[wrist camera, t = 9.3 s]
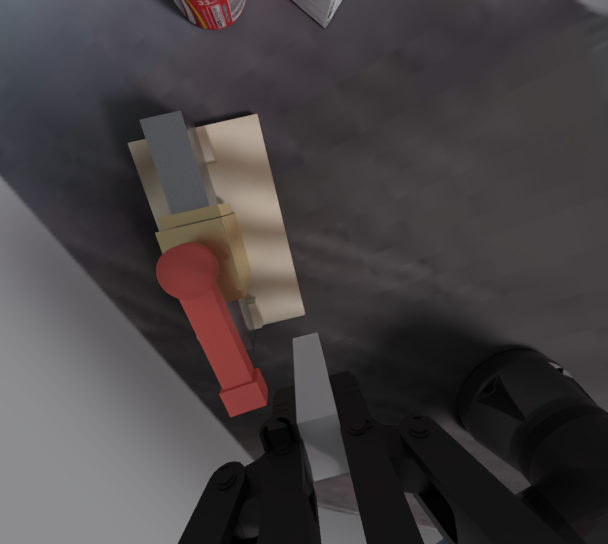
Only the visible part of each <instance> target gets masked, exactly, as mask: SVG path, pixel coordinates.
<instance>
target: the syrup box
mask: <svg viewBox="0 0 608 544" xmlns="http://www.w3.org/2000/svg"><path fill="white" fill-rule="evenodd" d="M292 1H293V2H295V3H296V4H297V5H298V6H299V7H300V8H301V9H303V10H304V11H305V12H306V13H307V14H308V15H310V16H311V17H312V18H313V19H314V20H316V21H317V22H318V23H319V24H320V25H321V26H323V27H324V28H326V26H327V25H328V23H329V22H330V20H331V18H332V17H333V15H334V13H335V12H336V10H337V8H338V7H339V5H340V3H341V1H342V0H292Z"/></svg>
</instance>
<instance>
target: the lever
mask: <svg viewBox="0 0 608 544" xmlns="http://www.w3.org/2000/svg"><path fill="white" fill-rule="evenodd" d="M218 274H219V265H218V261H217V259H216V257H215V255H214V254H213V252H212V251H211V250H210V249H208V248H207V247H206V246H204V245H201V244H199V243H194V242H187V243H182V244H180V245H178V246H175V247H173V248H171V249H169V250H167V251H166V252H164V253H163V254H162V255H161V257H160V258H159V260H158V262H157V265H156V276H157V280H158V282H159V284H160V286H161V287H162V288H163V289H164V291H165V292H167V293H168V294H169V295H171V296H173V297H175V298H178V299H179V300H180V302H181V304H182V306H183V309H184V311H185V313H186V315H187V317H188V319H189V321H190V323H191V325H192V327H193V329H194V331H195V333H196V335H197V337H198V339H199V341H200V344H201V346H202V348H203V350H204V352H205V354H206V356H207V358H208V360H209V362H210V364H211V366H212V368H213V370H214V372H215V374H216V377H217V379H218V381H219V383H220V385H221V390H220V393H219V395H220V397H221V399H222V401H223V403H224V405H225V407H226V409H227V411H228V413H229V416H230V417H233V416H236V415H239V414H242V413H245V412H248V411H251V410H254V409H257V408H260V407H263V406H266V405H267V397H268V388H267V386H266V383H265V381H264V379H263V376H262V374H261V372H260V370H259V367H258V368H255V369H254V368H253V365H252V363H251V361H250V358H249V356H248V354H247V352H246V349H245V347H244V345H243V343H242V340H241V338H240V336H239V333H238V331H237V329H236V327H235V324H234V322H233V320H232V317H231V315H230V313H229V311H228V308H227V306H226V304H225V301H224V299H223V297H222V295H221V292H220V290H219V288H218V286H217V283H216V279H217V277H218Z"/></svg>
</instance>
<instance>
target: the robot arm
mask: <svg viewBox="0 0 608 544" xmlns="http://www.w3.org/2000/svg"><path fill="white" fill-rule="evenodd" d="M293 355H294V375H295V385H294V386H290V387H286V388H282V389H278V391H277V392H276V394H275V396H274V398H273V414H272V418H270V419H269V420H267V421H266V422H265V423H264V424H263V425H262V427H261V429H260V432H259V435H260V438H261V441H262V444H263V447H264V450H265V453H264V454H263V455H262V456H261V457H260V458H259V459H257V460H256V461H254V462H252V463H251V464H249V465H247V466H246V467H244V466H243V465H242V464H241V463H240V462H235V461H234V462H229V463H226V464H224V465H223V466H221V467H220V468H219V469H218V470H217V471H215V472H214V474H213V475H212V476H211V478H210V479H209V482H208V484H207V486H206V488H205V490H204V492H203V494H202V496H201V498H200V500H199V502H198V504H197V506H196V508H195V510H194V512H193V514H192V516H191V518H190V520H189V522H188V524H187V526H186V528H185V530H184V532H183V534H182V536H181V538H180V540H179V543H178V544H321V536H320V526H319V517H318V508H317V498H316V494H315V490H314V487H313V479H314V481H318V480H321V479H325V478H329V477H333V476H337V475H341V474H345V473H349V472H350V474H351V478H352V482H353V487H354V491H355V495H356V499H357V504H358V508H359V512H360V516H361V521H362V525H363V529H364V533H365V537H366V542H367V544H424V542H423V539H422V537H421V534H420V532H419V529H418V527H417V525H416V522H415V520H414V517H413V515H412V512H411V510H410V507H409V505H408V502H407V500H406V497H405V495H404V492H408V493H412V494H413V496H414V497H415V499H416V500H417V501H418V503H419V504H420V506H421V507H422V508H423V510H424V511H425V513H426V514H427V515H428V517H429V518H430V520H431V521H432V522H433V524H434V525H435V527H436V528H437V530H438V531H439V532H440V534H441V535H442V536H443V538H444V539H442V540H441V541H439V542H438V543H437V544H608V412H606V411H605V410H603V409H602V408H600V407H599V406H598V405H597V404H596V403H595V402H594V400H593V399H592V398H591V397H590V396H589V395H588V394H587V393H586V392H585V391H584V389H583V388H582V387H581V386H580V385H579V384H578V383H577V382H576V381H575V380H574V379H573V378H572V377H571V375H570V374H569V373H568V372H567V371H566V370H565V369H564V368H563V367H562V366H561V365H559V364H558V363H556V362H555V361H553V360H551V359H549V358H548V357H546V356H544V355H543V354H541V353H538V352H535V351H531V350H513V351H508V352H504V353H501V354H499V355H496V356H494V357H492V358H490V359H489V360H487V361H485V362H484V363H483V364H481V365H480V366H479V367H478V368H477V369H476V370H475V371H474V372H473V373H472V374H471V375H470V376H469V378H468V379H467V381H466V382H465V384H464V386H463V388H462V390H461V393H460V396H459V401H458V412H459V416H460V419H461V422H462V423H463V425H464V427H465V428H466V429H467V430H468V432H469V433H470V434H471V435H472V437H473V438H474V439H475V440H476V441H477V442H478V443H479V444H480V445H482V446H483V447H485V448H487V449H488V450H490V451H491V452H492V453H494V454H495V455H496V456H498V457H499V458H501V459H502V460H503V461H505V462H506V463H508V464H509V465H510V466H512V467H513V468H515V469H516V470H518V471H519V472H520V473H521V474H522V475H523V476H524V477H525V478H526V479H527V480H528V482H529V483H530V484H531V486H530V487H528V488H526V489H525V490H523V491H521V492H519V493H517V494H516V495H514V494H513V493H512V492H511V491H510V490H509V489H508V488H507V487H505V486H504V485H503V484H502V483H501V482H500V481H499V480H498V479H497V478H496V477H495V476H494V475H493V474H491V473H490V472H489V471H488V470H487V469H486V468H485V467H484V466H483V465H482V464H481V463H480V462H478V461H477V460H476V459H475V458H474V457H473V456H472V455H471V454H470V453H469V452H468V451H467V450H465V449H464V448H463V447H462V446H461V445H460V444H459V443H458V442H457V441H456V440H455V439H454V438H452V437H451V436H450V435H449V434H448V433H447V432H446V431H445V430H444V429H443V428H442V427H441V426H439V425H438V424H437V423H436V422H435V421H434V420H432V419H431V418H429V417H427V416H424V415H410V416H407V417H405V418H404V419H403V420H402V421H401V423H400V425H399V426H389V425H383V424H380V423H378V422H377V421H375V420H374V419H373V418H372V417H371V415H370V413H369V411H368V408H367V406H366V403H365V401H364V398H363V396H362V393H361V391H360V388H359V386H358V383H357V381H356V378H355V376H354V375H352V374H351V373H350V372H349V371H346V372H342V373H339V374H335V375H331V376H328V372H327V368H326V364H325V360H324V356H323V352H322V348H321V344H320V340H319V336H318V333H317V332H316V333H312V334H308V335H305V336H301V337H297V338H293ZM312 476H313V479H312Z"/></svg>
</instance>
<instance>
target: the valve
mask: <svg viewBox="0 0 608 544" xmlns="http://www.w3.org/2000/svg"><path fill="white" fill-rule="evenodd" d="M139 121H140V123H141V126H142V129H143V132H144V135H145V138H146V141H147V144H148V147H149V150H150V153H151V156H152V159H153V162H154V164H155V167H156V170H157V173H158V176H159V179H160V182H161V185H162V188H163V191H164V194H165V197H166V200H167V203H168V205H169V208H170V211H171V214H172V215H169V216H165V217H160V218H157V219H158V222H159V224H160V227H161V230H163V229H167V228H171V229H167V230H163V231H160V232H156V233H155V235H156V237H157V240H158V243H159V246H160V248H161V251H162V254H163V253H164V252H166V251H167V250H169V249H171V248H173V247H175V246H178V245H180V244H182V243H187V242H194V243H199V244H201V245H204V246H206V247H207V248H208V249H210V250H211V251H212V252H213V254H214V255H215V257H216V259H217V261H218V265H219V274H218V277H217V279H216V283H217V286H218V288H219V290H220V292H221V295H222V297H223V299H224V301H225V304H226V306H227V308H228V311H229V313H230V315H231V317H232V320H233V322H234V324H235V327H236V329H237V331H238V333H239V336H240V338H241V340H242V343H243V345H244V347H245V349H246V350H250V349H253V347H254V342H255V337H256V331H255V327H254V324H253V321H252V317H251V314H250V310H249V307H248V304H247V300H246V295H247V292H248V289H249V287H250V284H251V279H250V275H249V274H250V272H251V267H250V263H249V260H248V256H247V253H246V249H245V245H244V242H243V238H242V235H241V231H240V228H239V224H238V221H237V217H236V213H235V214H231V213H232V212H231V208H230V205H229V204H218V202H217V199H216V195H215V192H214V189H213V185H212V182H211V178H210V175H209V172H208V168H207V165H206V161H205V158H204V155H203V151H202V148H201V145H200V141H199V138H198V134H197V131H196V128H195V124H194V122H193V121H192V120H191V119H190V118H189V117H188V116H187V115H185V114H184V113H183V112H182V111H176V112H172V113H167V114H163V115H158V116H154V117H149V118H145V119H140V120H139ZM227 214H230V215H227ZM223 215H226V216H223ZM172 227H175V228H172ZM179 301H180V300H179ZM180 303H181V302H180Z"/></svg>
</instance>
